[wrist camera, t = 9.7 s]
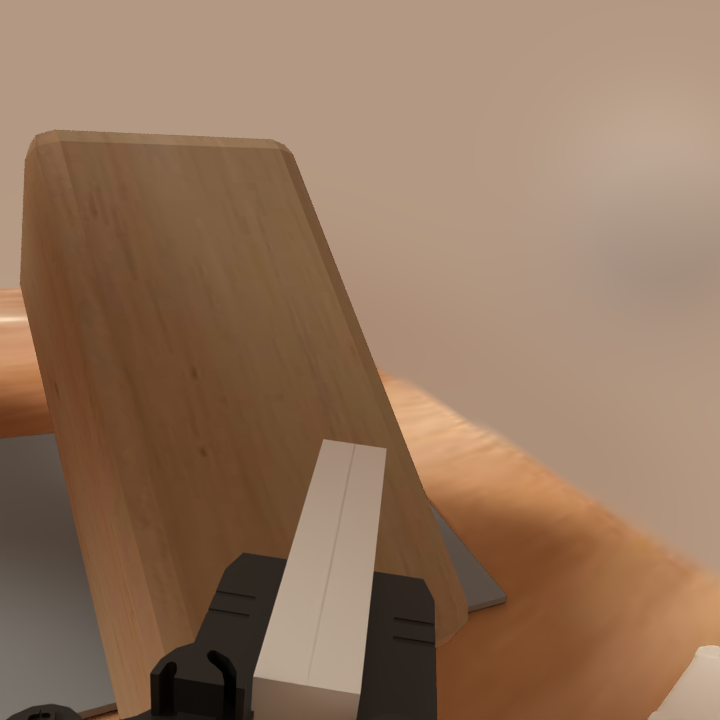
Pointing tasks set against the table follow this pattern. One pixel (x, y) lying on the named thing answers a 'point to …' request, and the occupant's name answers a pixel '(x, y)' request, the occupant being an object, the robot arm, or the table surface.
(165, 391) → the wooden block
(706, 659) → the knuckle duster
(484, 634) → the table surface
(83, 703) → the rubber mat
